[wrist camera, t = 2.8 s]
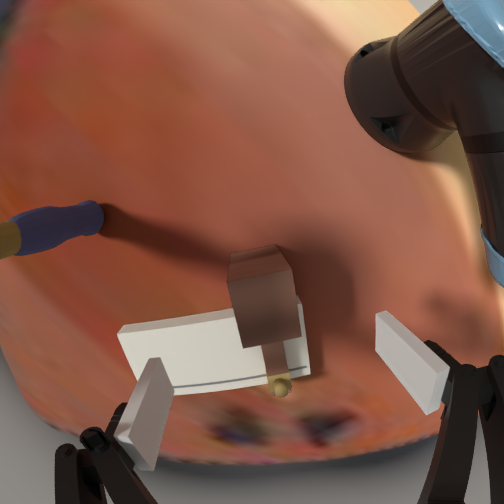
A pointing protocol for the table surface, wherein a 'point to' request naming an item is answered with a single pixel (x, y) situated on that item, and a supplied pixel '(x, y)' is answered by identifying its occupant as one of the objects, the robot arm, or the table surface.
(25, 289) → the table surface
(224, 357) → the board
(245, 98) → the table surface
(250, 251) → the block
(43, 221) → the rubber mallet
